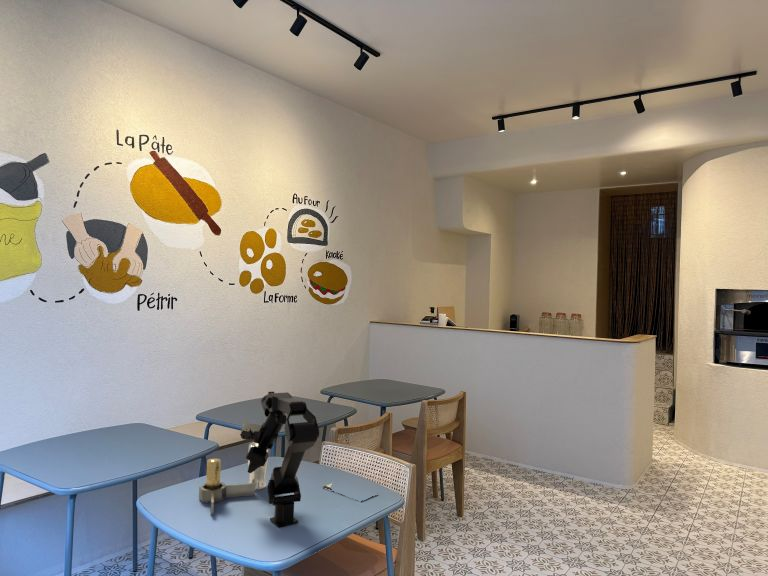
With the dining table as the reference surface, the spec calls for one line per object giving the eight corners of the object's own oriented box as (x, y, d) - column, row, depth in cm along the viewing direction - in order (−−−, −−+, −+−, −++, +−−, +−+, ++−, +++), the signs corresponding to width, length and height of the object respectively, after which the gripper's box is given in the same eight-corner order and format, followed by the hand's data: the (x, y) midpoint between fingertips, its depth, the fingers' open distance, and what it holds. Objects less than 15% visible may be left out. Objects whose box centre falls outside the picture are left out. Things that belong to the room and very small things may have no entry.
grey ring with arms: (265, 503, 177) (266, 490, 177) (211, 515, 166) (211, 502, 166) (245, 487, 190) (245, 475, 190) (193, 497, 179) (193, 485, 179)
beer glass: (254, 491, 186) (255, 448, 186) (242, 486, 191) (244, 443, 191) (271, 486, 191) (272, 444, 191) (259, 481, 196) (260, 440, 196)
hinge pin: (221, 499, 179) (222, 461, 179) (208, 502, 176) (209, 463, 176) (217, 495, 182) (218, 457, 182) (203, 497, 180) (205, 459, 180)
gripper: (257, 402, 184) (239, 439, 187) (241, 430, 165) (221, 470, 169) (287, 417, 184) (268, 453, 188) (274, 445, 166) (253, 485, 170)
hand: (253, 464), depth 179 cm, fingers open, 9 cm apart
